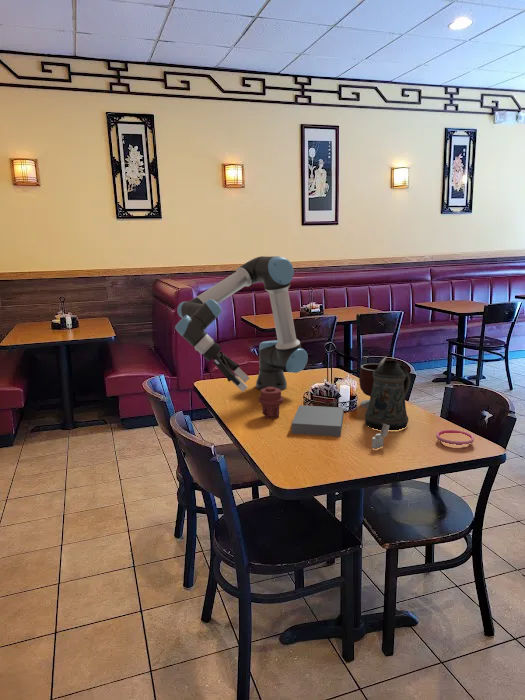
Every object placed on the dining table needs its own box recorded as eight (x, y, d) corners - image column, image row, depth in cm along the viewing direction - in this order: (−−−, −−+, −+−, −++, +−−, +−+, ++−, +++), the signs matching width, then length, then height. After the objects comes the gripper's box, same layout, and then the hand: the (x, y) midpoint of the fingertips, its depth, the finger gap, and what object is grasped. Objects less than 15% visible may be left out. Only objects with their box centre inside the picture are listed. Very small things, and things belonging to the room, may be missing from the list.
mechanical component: (260, 412, 215) (283, 413, 214) (257, 420, 205) (282, 421, 204) (259, 384, 212) (283, 384, 211) (257, 391, 203) (282, 391, 202)
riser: (299, 414, 212) (299, 405, 211) (343, 417, 209) (343, 407, 208) (291, 433, 191) (291, 423, 190) (340, 436, 188) (340, 426, 187)
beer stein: (359, 428, 195) (361, 364, 190) (371, 413, 213) (373, 354, 208) (403, 435, 188) (407, 369, 183) (412, 419, 206) (416, 358, 201)
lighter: (375, 451, 174) (376, 428, 173) (371, 449, 176) (372, 427, 174) (388, 446, 179) (389, 424, 177) (385, 444, 180) (385, 422, 178)
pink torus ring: (428, 440, 184) (428, 432, 183) (455, 435, 189) (455, 427, 188) (453, 453, 173) (454, 444, 172) (481, 447, 177) (482, 438, 177)
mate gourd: (381, 412, 214) (383, 365, 210) (352, 405, 223) (353, 361, 219) (398, 403, 226) (400, 359, 222) (370, 397, 234) (371, 354, 230)
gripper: (206, 348, 217) (241, 382, 220) (196, 361, 193) (237, 400, 195) (218, 336, 216) (254, 370, 218) (210, 347, 191) (251, 386, 194)
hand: (246, 384), depth 207 cm, fingers open, 13 cm apart
